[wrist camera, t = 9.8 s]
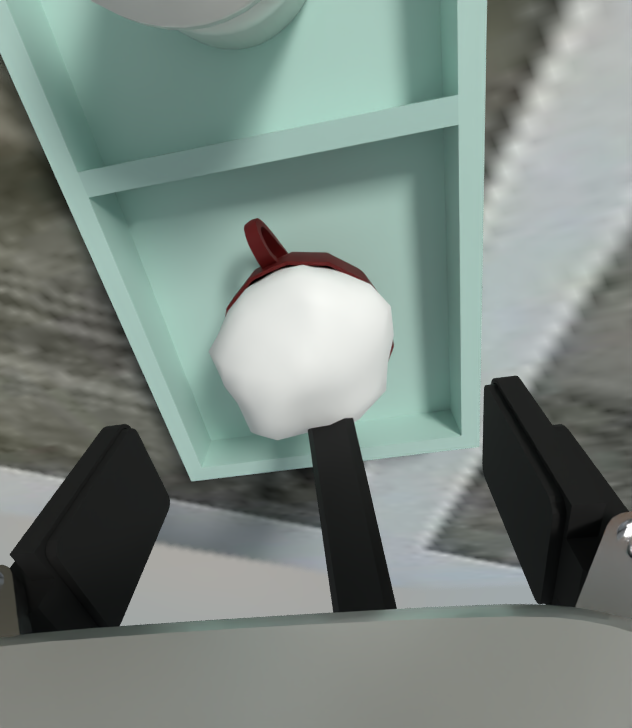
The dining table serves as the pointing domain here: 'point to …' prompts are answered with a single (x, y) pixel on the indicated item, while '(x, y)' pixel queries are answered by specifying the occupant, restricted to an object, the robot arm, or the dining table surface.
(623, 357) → the dining table surface
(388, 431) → the tray
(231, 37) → the sugar pot
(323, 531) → the cocoa
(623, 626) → the robot arm
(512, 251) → the dining table surface
